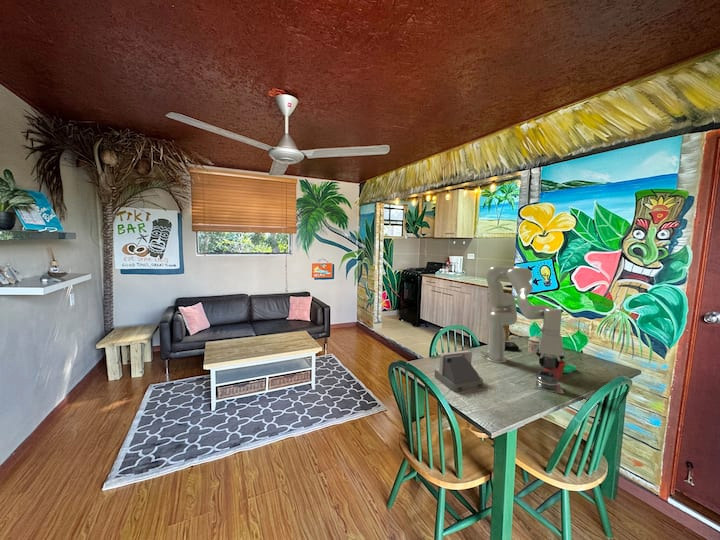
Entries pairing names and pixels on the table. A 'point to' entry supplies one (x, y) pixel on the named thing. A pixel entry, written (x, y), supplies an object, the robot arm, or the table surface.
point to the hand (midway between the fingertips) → (548, 366)
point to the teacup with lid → (533, 343)
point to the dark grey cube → (549, 362)
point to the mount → (568, 367)
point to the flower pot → (557, 370)
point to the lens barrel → (547, 382)
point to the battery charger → (511, 346)
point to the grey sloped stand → (458, 371)
